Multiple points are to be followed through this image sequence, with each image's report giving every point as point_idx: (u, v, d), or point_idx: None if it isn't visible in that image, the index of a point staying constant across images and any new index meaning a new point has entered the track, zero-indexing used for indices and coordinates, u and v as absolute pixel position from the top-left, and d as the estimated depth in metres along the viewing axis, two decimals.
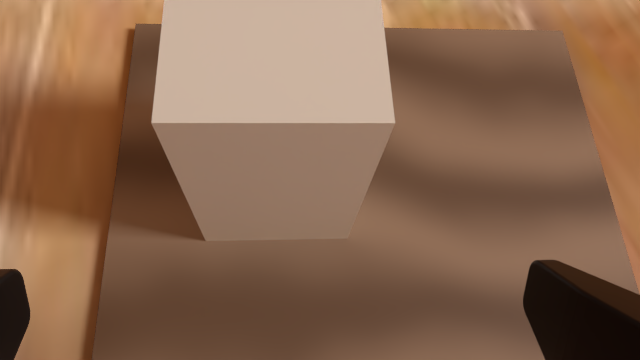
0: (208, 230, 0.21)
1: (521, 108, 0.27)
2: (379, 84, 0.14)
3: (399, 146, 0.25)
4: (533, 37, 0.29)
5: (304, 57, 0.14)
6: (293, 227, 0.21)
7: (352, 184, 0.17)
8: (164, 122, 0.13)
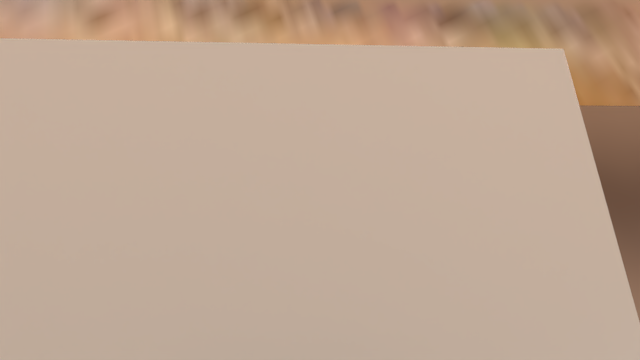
0: None
1: None
2: None
3: None
4: None
5: None
6: None
7: None
8: None
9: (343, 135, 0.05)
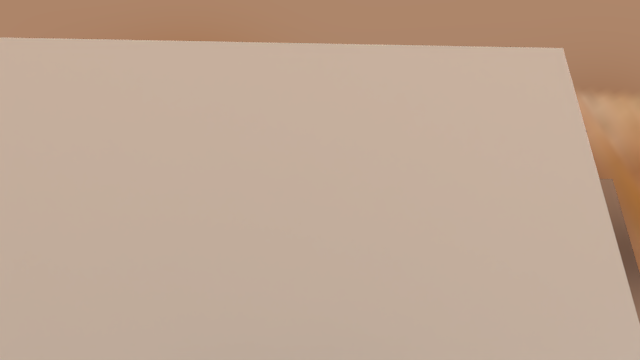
0: None
1: None
2: None
3: None
4: None
5: None
6: None
7: None
8: None
9: (343, 134, 0.05)
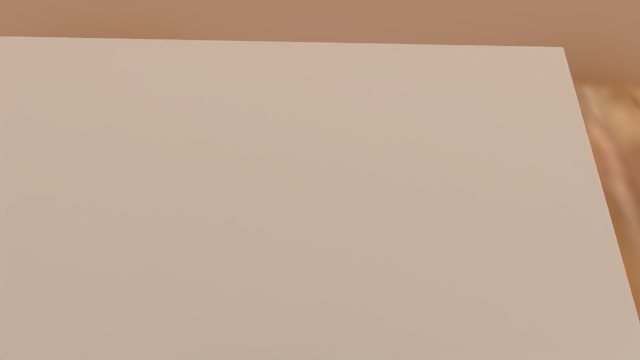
0: None
1: None
2: None
3: None
4: None
5: None
6: None
7: None
8: None
9: (343, 133, 0.05)
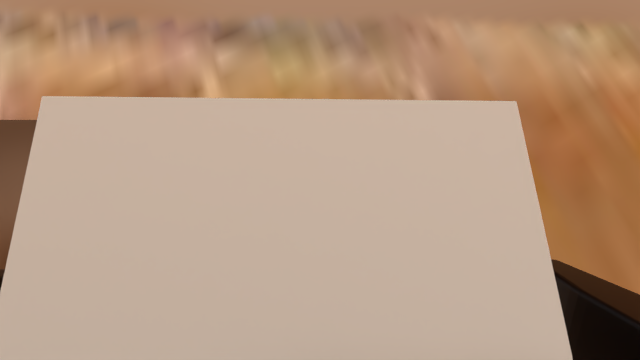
0: None
1: None
2: None
3: None
4: None
5: None
6: None
7: None
8: None
9: (331, 177, 0.06)
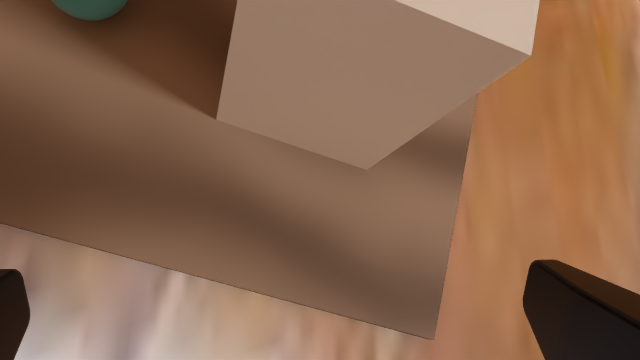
0: (226, 108, 0.18)
1: None
2: (526, 3, 0.11)
3: None
4: None
5: None
6: (320, 138, 0.19)
7: (421, 112, 0.15)
8: None
9: None
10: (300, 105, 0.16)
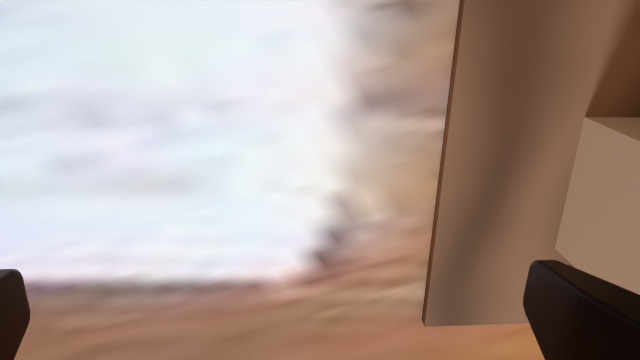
0: (604, 134, 0.20)
1: None
2: None
3: None
4: None
5: None
6: (587, 216, 0.21)
7: None
8: None
9: None
10: (628, 210, 0.19)
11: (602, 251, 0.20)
